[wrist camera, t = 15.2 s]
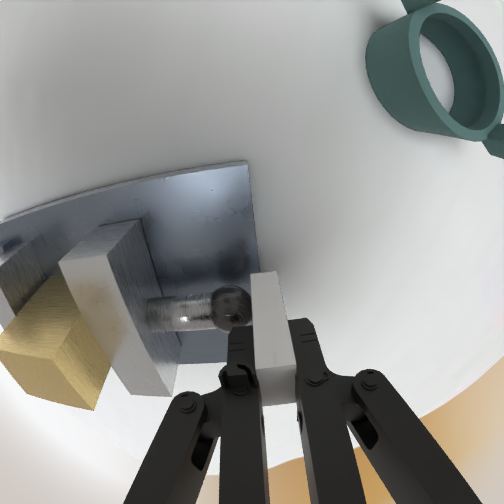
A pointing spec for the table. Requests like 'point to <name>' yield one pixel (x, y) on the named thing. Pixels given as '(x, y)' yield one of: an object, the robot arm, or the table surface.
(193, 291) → the vise
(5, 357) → the brass block
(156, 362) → the free jaw
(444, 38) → the bracket
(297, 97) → the table surface
